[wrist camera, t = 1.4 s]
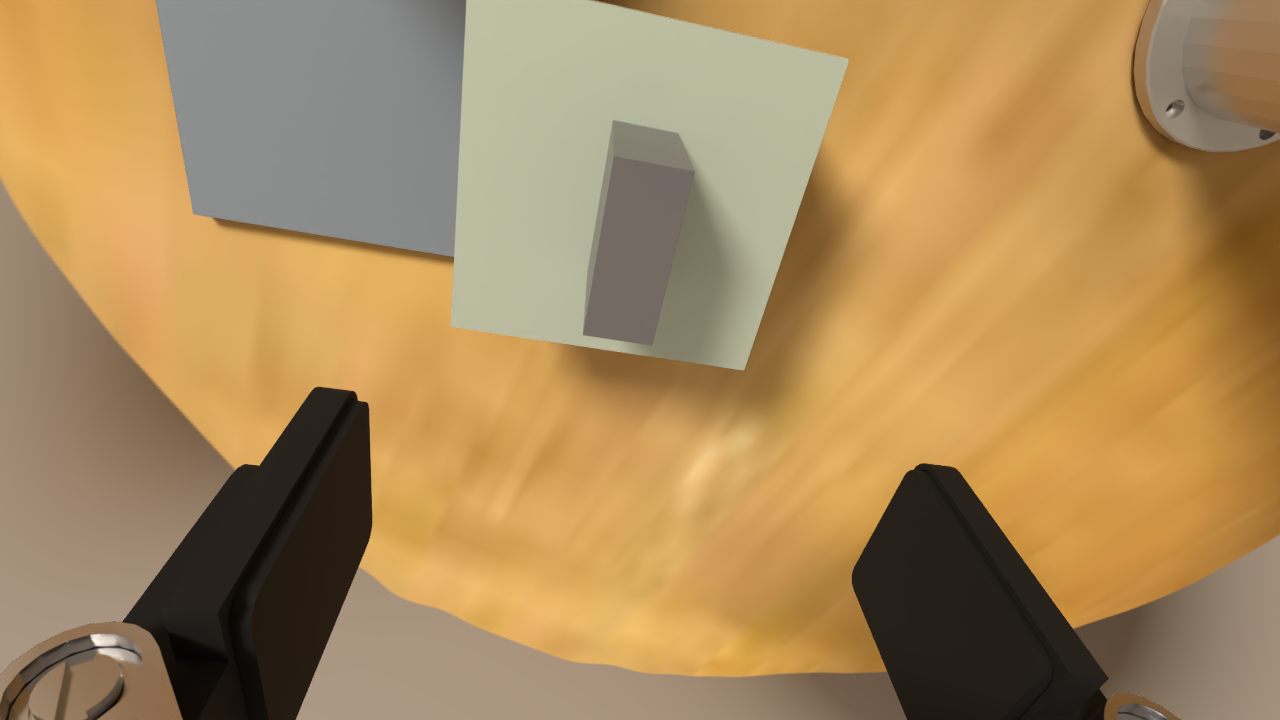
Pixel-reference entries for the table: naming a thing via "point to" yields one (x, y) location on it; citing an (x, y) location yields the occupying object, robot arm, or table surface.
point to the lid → (629, 176)
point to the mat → (321, 114)
